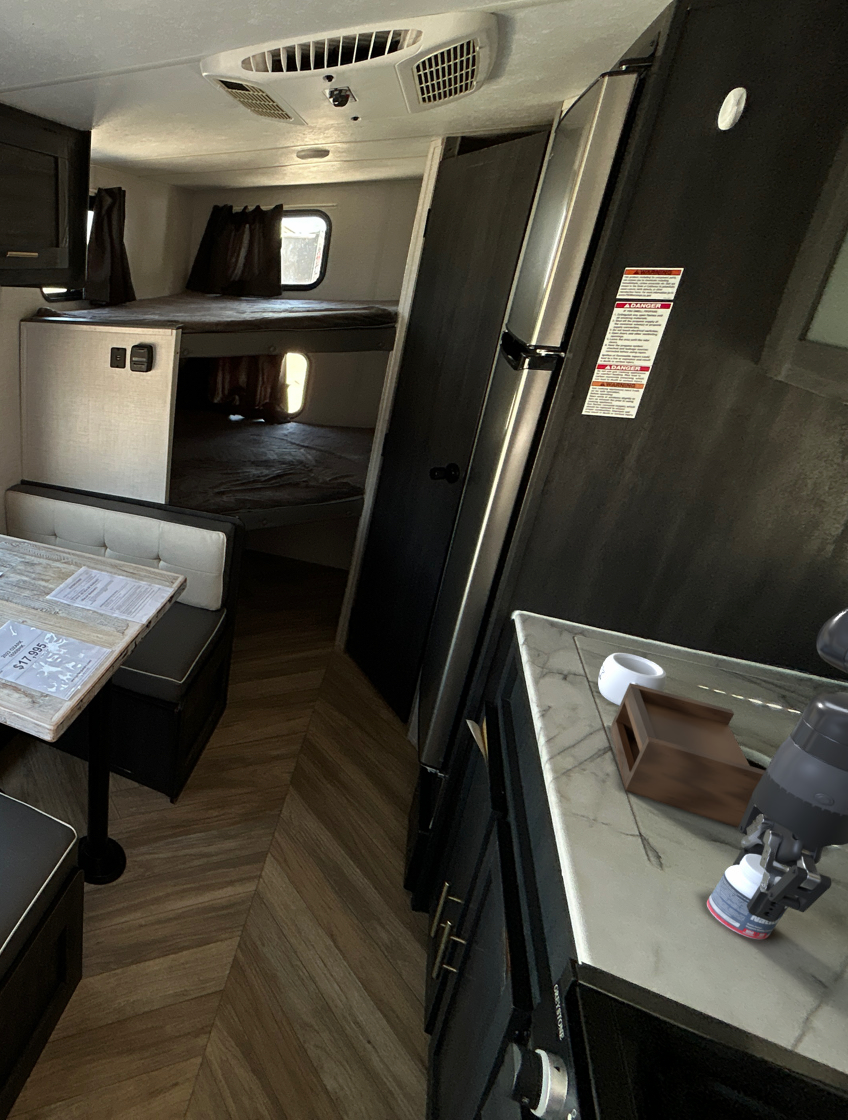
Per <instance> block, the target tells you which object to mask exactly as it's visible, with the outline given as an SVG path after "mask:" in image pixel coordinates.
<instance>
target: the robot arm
mask: <svg viewBox="0 0 848 1120" xmlns="http://www.w3.org/2000/svg"><path fill="white" fill-rule="evenodd" d="M815 646H816V650H817V652H818V653H817V654H818V655H819V656H820V658H821V659H822V660H824V662H826V663H828V664H829V665H831V666H832V667H835V668H836V669H838V670H839V671H842V672H844V673H845V674H848V606H847V607H844V608H843V609H842V610H840V611H837V613H835V614H834V615H833V616H831V617H830V618H828V620H827V621H825V622H824V623H823V625H822V626H821V627H820V629H819V631H818V633H817V636H816V642H815ZM764 770H765V772H764V774H763V776H762V777H761V779H760V781H759V783H758V784H757V786H756V788H755V789H754V791H753V793H752V796H751V799H750V801H749V803H748V806H747V808H746V811H745V813H744V815H743V818H742V820H741V823H740V825H739V827H738V833H740V834H743V835H744V836H743V837H742V838H741V840H740V847H742V848H741V850H740V851H739V853H738V855H737V857H736V858H735V859H734V862H733V863H732V865H731V866H733V865H739V864H740V862H741V860H742V859H743V857H744V856H745V855H747V854H757V855H761V856H762V857H761V860H760V866H761V868H763V869H764V874H763V877H762V880H761V884H760V886H759V887H758V888H757V890H756V892H755V893H754V895H753V896H752V898H751V900H750V901H749V903H748V904H747V909H748V911H749V913H750V914H751V915H754V916H756V917H759V918H761V919H764V920H767V921H770V922H775V921H776V920H777V919H778V917H779V916H780V914H781V913H782V911H783V909H784V908H785V906H787V907H788V908H789V909H793V910H795V911H798V912H800V913H804V912H806V911H807V910H808V909H809V908H810V907H811V906H812V905H813V904H814V903H816V902H817V900H819V898H821V896H823V895H824V894H825V893H826V892H827V891H828V890H829V889H830V888H831V886H832V879H831V877H829V876H828V875H824V874H822V873H819V872H818V868H817V866H816V865H817V864H818V863H819V862H820V861H821V859H822V855H823V850H824V848H825V847H831V846H844V845H848V692H842V691H824V692H821V693H818V694H816V695H814V696H813V698H811V699H810V701H809V702H808V704H807V705H806V706H805V708H804V710H803V712H802V714H801V715H800V718H798V721H797V722H796V724H795V726H794V727H793V730H792V731H791V732H790V734H789V735H788V737H787V738H786V739H785V740H784V741H783V742H782V743H781V744H780V745H779V747H778V748H777V750H776V751H775V753H774V754H773V756H772V758H771V760H770V762H769V763H768V765H767V767H766V768H765V769H764ZM774 861H775V862H776V863H778V864H780V865H781V866H785V867H786V868H785V869H783V868H780V867H777V866H774V865H773V862H774ZM776 877H782V878H781V879H780V880H779V881H778V882H777V883H776V884H775V885H774V880H775V878H776Z"/></svg>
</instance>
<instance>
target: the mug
mask: <svg viewBox="0 0 848 1120" xmlns="http://www.w3.org/2000/svg"><path fill="white" fill-rule="evenodd" d="M667 679H668V677H667V672H666V670H665V669H664V668H663V667H662V666H661V665H659V664H658V663H656V662H654V661H652V660H649V659H647V658H645V657H642V656H639V655H635V654H632V653H627V652H626V653H625V652H615V653H611V654H610V655H608V656H607V657H606V658H605V660H604V661H603V663H602V665H601V667H600V670H599V673H598V679H597V680H598V681H597V682H598V690H599V692H600V694H601V696H602V697H604V698H605V699H606V700H607V701H609V702H610V703H612V704H615V705H617V706H620V704H621V702H622V699H623V697H624V695H625V692H626V690H627V688H628V686H629V683H632V684H636V685H640V686H643V687H647V688H651V689H655V690H659V691H662V692H664V690H665V688H666V685H667Z"/></svg>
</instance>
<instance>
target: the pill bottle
mask: <svg viewBox="0 0 848 1120" xmlns="http://www.w3.org/2000/svg"><path fill="white" fill-rule="evenodd" d="M761 857H762V856H761V855H757V854H747V855H745V856H744V857H743V859H742V860H741V862H740V864H739V865H733V864H732V865H733V866H732V865H731V866H729V867H727V868H726V869H725V871H724V873H722V876H721V878H720V879H719V881H718V883H717V884H716V886H715V888H714V890H713V891H712V892H711V894H710V896H709V897H708V898H707V900H706V906H707V909H708V911H709V912H710V913H711V914H712V916H713V917H715V919H716V920H717V921H719V922H720V923H721V924H722V925H724V926H725V927H726V928H728V929H730V930H731V931H733V932H735V933H737V934H739V935H741V936H744V937H747V938H749V939H754V940H765V939H767V938H769V937H770V935H771V934H772V933H773V930H774V929H775V928H776V926H777V924H778V923H779V922H780V920H781V918H782V917H783V916H784V914H785V913H786V911H787V910H788V908H789V907H787V906H785V908H784V909H783V911H782V913H781V914H780V916H779V917H778V919H777V920H776V921H775V922H770V921H767V920H764V919H761V918H759V917H756V916H754V915H751V914H750V913H749V911H748V909H747V904H748V903H749V901H750V900H751V898H752V896H753V895H754V893H755V892H756V890H757V888H758V887H759V886H760V884H761V880H762V877H763V874H764V869H763V868H761V866H760V860H761ZM773 865H774V866H777V867H780V868H783V869H786V868H785V867H784V865H782V864H779V863H777V862H775V861H774V862H773ZM781 878H782V877H776V878H775V880H774V885H775V884H776V883H777V882H778V881H779V880H780V879H781Z"/></svg>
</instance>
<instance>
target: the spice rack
mask: <svg viewBox="0 0 848 1120" xmlns="http://www.w3.org/2000/svg"><path fill="white" fill-rule="evenodd" d="M618 706H619V705H618ZM734 715H735V713H734V711H733V710H732V709H731V708H727V707H724V706H720V705H716V704H712V703H708V702H704V701H700V700H696V699H693V698H689V697H685V696H681V695H678V694H674V693H670V692H666V691H663V692H662V691H659V690H655V689H651V688H647V687H643V686H640V685H636V684H632V683H629V686H628V688H627V690H626V692H625V695H624V697H623V699H622V702H621V704H620V706H619V707H618V709H617V711H616V713H615V716H614V717H613V720H612V722H611V725H610V727H609V732H610V736H611V740H612V744H613V748H614V751H615V755H616V759H617V762H618V767H619V771H620V775H621V779H622V782H623V787H624V790H625V792H628V793H631V794H634V795H637V796H640V797H643V798H646V799H649V800H652V801H655V802H658V803H661V804H665V805H667V806H670V807H674V808H677V809H679V810H683V811H685V812H689V813H692V814H694V815H698V816H700V817H703V818H706V819H710V820H712V821H716V822H719V823H722V824H724V825H728V826H732V827H734V828H736V829H739V825H740V823H741V820H742V818H743V815H744V813H745V811H746V808H747V806H748V803H749V801H750V799H751V796H752V793H753V791H754V789H755V788H756V786H757V784H758V783H759V781H760V779H761V777H762V776H763V774H764V772H765V770H766V769H762V768H758V767H754V766H751V765H750V763H749V761H748V760H747V757H746V756H745V754H744V752H743V750H742V748H741V746H740V744H739V741H738V740H737V738H736V736H735V734H734V732H733V730H732V728H731V726H730V723H731V721H732V719H733V717H734Z"/></svg>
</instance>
